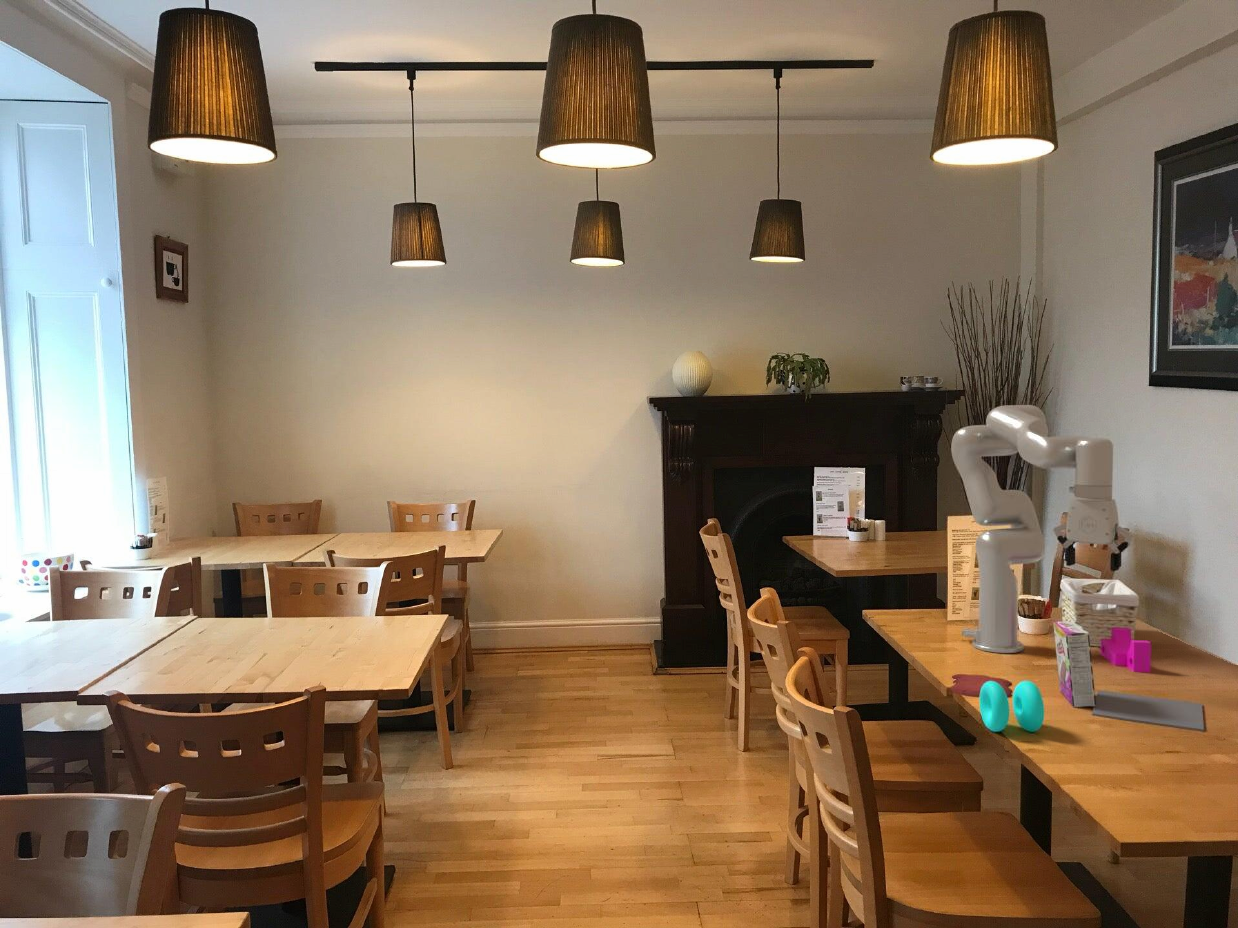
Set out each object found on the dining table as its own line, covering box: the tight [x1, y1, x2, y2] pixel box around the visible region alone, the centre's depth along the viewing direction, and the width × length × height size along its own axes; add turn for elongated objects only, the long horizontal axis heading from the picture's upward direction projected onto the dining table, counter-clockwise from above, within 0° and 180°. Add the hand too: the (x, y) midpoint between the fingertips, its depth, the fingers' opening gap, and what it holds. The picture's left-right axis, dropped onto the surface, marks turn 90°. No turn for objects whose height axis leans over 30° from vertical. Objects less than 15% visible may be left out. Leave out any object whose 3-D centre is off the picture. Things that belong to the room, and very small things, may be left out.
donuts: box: [978, 680, 1045, 733], centre depth 188 cm, size 10×10×10 cm
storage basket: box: [1059, 577, 1140, 648], centre depth 258 cm, size 24×16×15 cm
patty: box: [949, 673, 1013, 699], centre depth 215 cm, size 18×14×2 cm
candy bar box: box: [1052, 621, 1096, 709], centre depth 205 cm, size 11×5×16 cm, turn 169°
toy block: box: [1099, 627, 1152, 673], centre depth 233 cm, size 15×6×8 cm, turn 171°
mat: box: [1091, 689, 1205, 732], centre depth 199 cm, size 20×18×1 cm
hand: (1092, 567), depth 212 cm, fingers open, 9 cm apart
